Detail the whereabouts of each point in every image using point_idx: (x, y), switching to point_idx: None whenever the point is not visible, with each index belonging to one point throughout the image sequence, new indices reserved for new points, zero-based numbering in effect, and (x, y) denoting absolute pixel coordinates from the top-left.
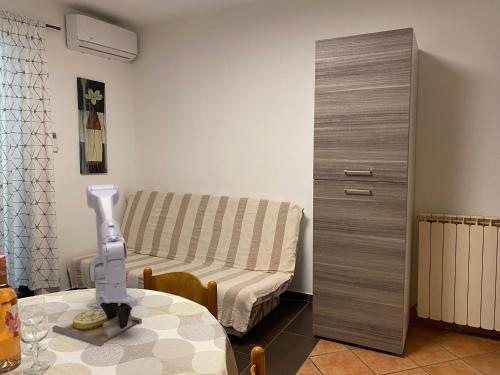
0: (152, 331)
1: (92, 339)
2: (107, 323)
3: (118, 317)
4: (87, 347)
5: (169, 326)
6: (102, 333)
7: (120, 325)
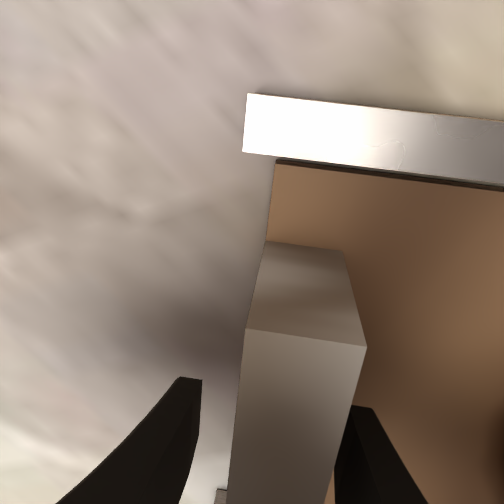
0: (54, 434)
1: (397, 112)
2: (285, 363)
3: (135, 498)
4: (405, 30)
5: (13, 500)
6: (404, 303)
7: (172, 400)
